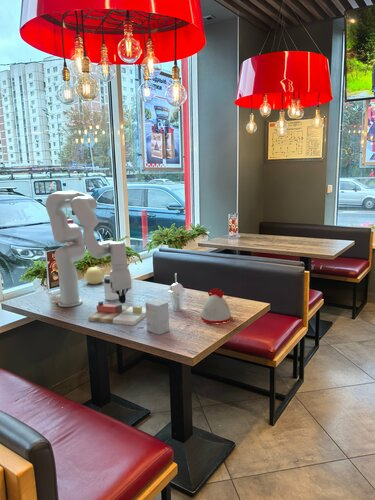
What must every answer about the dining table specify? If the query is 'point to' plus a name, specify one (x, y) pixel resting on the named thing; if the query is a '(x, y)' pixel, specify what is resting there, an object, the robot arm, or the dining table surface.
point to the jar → (109, 290)
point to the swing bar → (106, 307)
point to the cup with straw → (176, 295)
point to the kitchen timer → (215, 308)
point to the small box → (157, 316)
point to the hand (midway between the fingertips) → (122, 302)
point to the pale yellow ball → (95, 275)
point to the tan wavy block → (107, 315)
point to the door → (130, 316)
